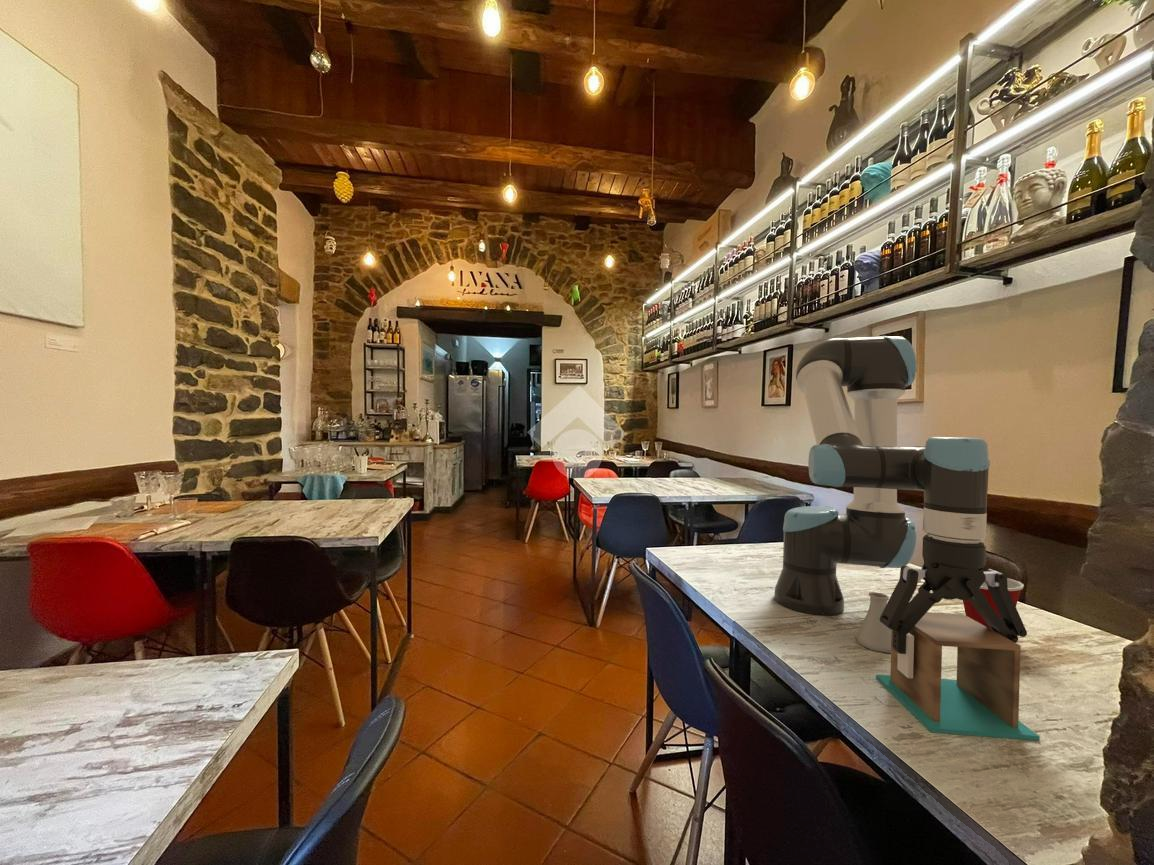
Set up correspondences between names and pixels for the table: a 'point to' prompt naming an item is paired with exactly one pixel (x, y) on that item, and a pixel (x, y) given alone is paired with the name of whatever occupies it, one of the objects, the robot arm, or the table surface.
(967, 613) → the plastic cup
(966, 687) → the brown wooden box frame
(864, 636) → the flask
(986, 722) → the mat
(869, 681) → the table surface
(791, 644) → the table surface
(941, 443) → the robot arm
